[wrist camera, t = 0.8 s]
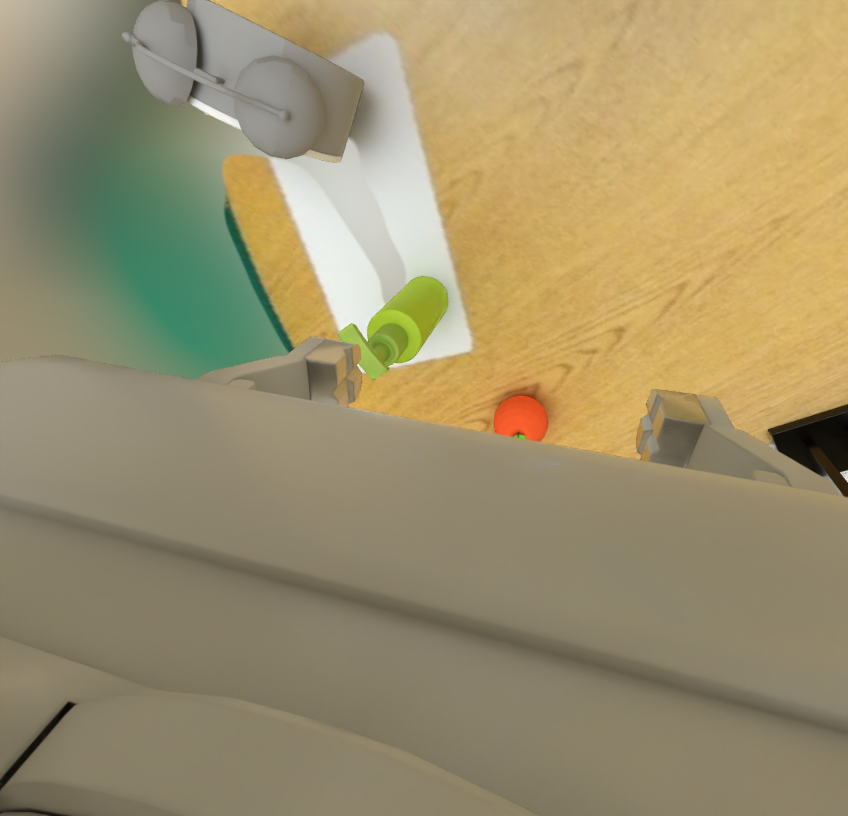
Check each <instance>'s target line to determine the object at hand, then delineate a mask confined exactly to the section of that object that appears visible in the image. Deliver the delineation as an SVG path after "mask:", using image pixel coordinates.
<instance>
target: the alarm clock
mask: <svg viewBox="0 0 848 816" xmlns="http://www.w3.org/2000/svg"><path fill="white" fill-rule="evenodd" d="M122 37H123V39H124V40H125V41H126V42H127V43H128V44H131V45H132V49H133V57H134V61H135V64H136V68H137V71H138V73H139V75H140V77H141V79H142V81H143V83H144V84H145V86H146V87H147V89H148V90H149V91H150V92H151V94H152V95H153V96H154V97H156V98H157V99H159V100H160V101H162V102H164V103H167V104H170V105H173V106H177V107H181V106H182V105H183V104H184V103H185V102H186V101H187V102H189V103H190V104H191V105H193V106H195V107H196V108H198V109H200V110H202V111H203V112H205V114H206V115H211V116H213V117H215V118H217V119H219V120H221V121H223V122H225V123H227V124H229V125H231V126H233V127H235V128H237V129H240V130H242V132H243V133H244V134H245V135H246V136H247V138H248V139H249V140H250V141H251V143H252V144H253V145H254V146H255V147H256V148H258V149H260V150H261V151H263V152H264V153H266V154H268V155H269V156H272V157H278V158H284V159H290V158H293V157H298V156H301V155H305V156H309V157H312V158H315V159H319V160H322V161H328V162H333V163H335V162H336V163H337V162H341V159H342V155H343V153H344V150H345V146H346V143H347V139H348V136H349V133H350V129H351V126H352V123H353V119H354V116H355V112H356V109H357V106H358V102H359V99H360V96H361V92H362V89H363V85H364V81H363V79H361V78H359V77H358V76H356V75H354V74H352V73H350V72H348V71H347V70H345V69H343V68H341V67H339V66H337V65H335V64H333V63H332V62H330V61H328V60H326V59H324V58H322V57H320V56H318V55H316V54H314V53H312V52H311V51H309V50H307V49H305V48H303V47H301V46H299V45H297V44H295V43H293V42H291V41H289V40H287V39H285V38H283V37H281V36H279V35H277V34H276V33H274V32H272V31H270V30H268V29H266V28H264V27H262V26H260V25H258V24H256V23H254V22H252V21H250V20H248V19H246V18H244V17H242V16H240V15H238V14H236V13H234V12H232V11H230V10H228V9H226V8H224V7H222V6H220V5H218V4H216V3H214V2H212V1H210V0H188V1H187V8H186V7H184V6H182V5H180V4H178V3H175V2H171V1H164V0H161V1H156V2H153V3H151V4H149V5H148V6H147V7H146V8H145V9H144V10H143V11H142V12H141V14H140V15H139V17H138V19H137V21H136V23H135V27H134V31H133V34H132V33H130V32H126V33H123V34H122Z"/></svg>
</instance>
